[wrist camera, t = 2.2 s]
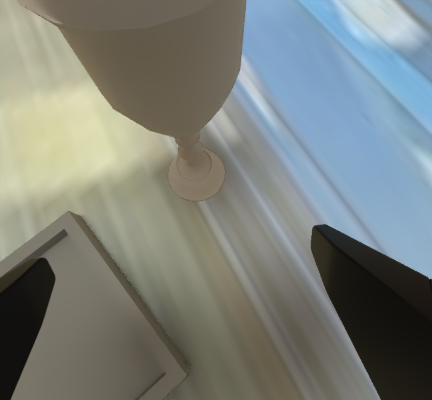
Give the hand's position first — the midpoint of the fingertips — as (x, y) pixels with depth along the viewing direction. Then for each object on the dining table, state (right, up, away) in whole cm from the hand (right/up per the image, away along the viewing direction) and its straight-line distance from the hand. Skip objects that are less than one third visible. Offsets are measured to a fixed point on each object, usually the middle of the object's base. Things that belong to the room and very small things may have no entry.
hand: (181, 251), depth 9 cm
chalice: (-1, +4, +15) cm, 16 cm away
